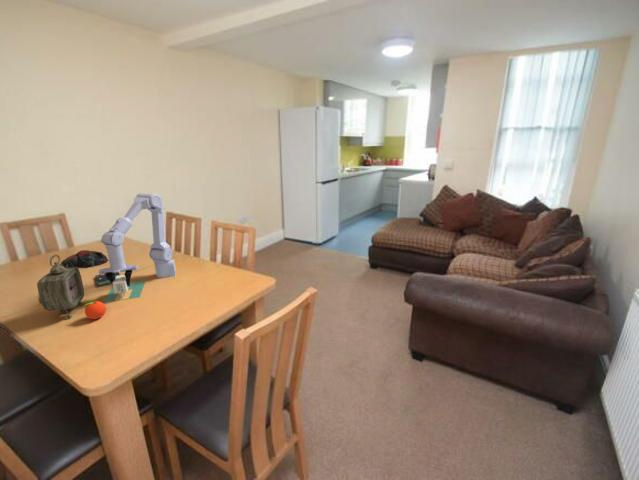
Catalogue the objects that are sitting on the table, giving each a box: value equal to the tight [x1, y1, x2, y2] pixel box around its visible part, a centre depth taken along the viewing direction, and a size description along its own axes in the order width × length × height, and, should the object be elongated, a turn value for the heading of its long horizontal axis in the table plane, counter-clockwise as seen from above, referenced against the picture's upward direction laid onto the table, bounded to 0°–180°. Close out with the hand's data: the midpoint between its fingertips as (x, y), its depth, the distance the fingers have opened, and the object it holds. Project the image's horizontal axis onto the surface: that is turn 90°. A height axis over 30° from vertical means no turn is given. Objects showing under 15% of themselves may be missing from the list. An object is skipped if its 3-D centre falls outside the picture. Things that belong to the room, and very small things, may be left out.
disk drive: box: [94, 272, 120, 288], centre depth 157 cm, size 10×3×15 cm
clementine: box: [81, 300, 107, 320], centre depth 123 cm, size 8×7×7 cm
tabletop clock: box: [36, 254, 85, 319], centre depth 125 cm, size 14×9×25 cm, turn 17°
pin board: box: [102, 280, 146, 304], centre depth 145 cm, size 14×19×4 cm
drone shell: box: [60, 249, 109, 269], centre depth 180 cm, size 21×20×8 cm
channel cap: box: [112, 274, 129, 293], centre depth 140 cm, size 5×8×5 cm, turn 21°
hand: (122, 286), depth 140 cm, fingers closed on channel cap, 5 cm apart
